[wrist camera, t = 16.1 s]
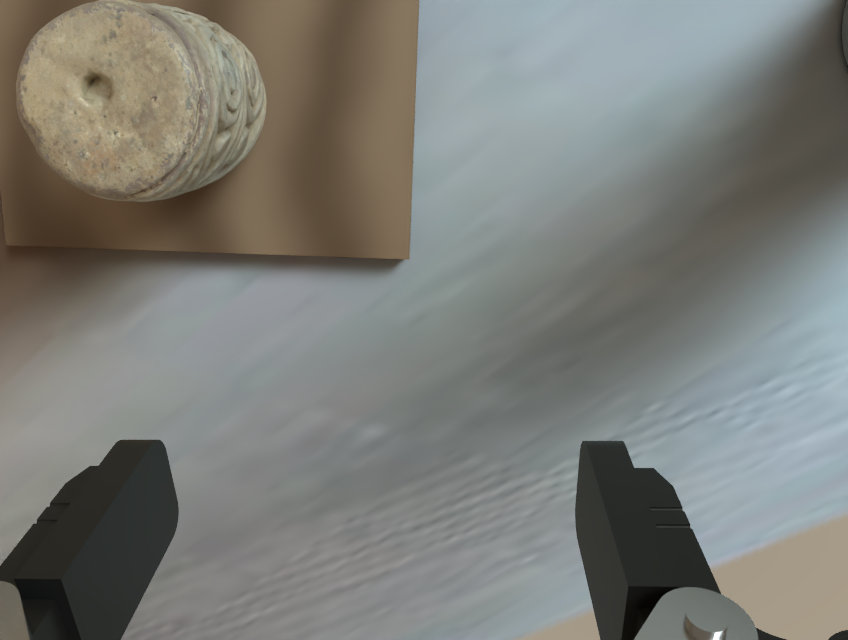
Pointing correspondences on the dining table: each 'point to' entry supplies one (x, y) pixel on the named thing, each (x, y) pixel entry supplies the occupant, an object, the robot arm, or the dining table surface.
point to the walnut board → (273, 150)
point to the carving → (139, 99)
